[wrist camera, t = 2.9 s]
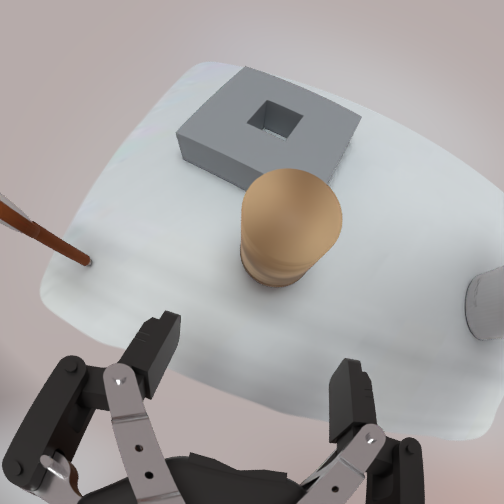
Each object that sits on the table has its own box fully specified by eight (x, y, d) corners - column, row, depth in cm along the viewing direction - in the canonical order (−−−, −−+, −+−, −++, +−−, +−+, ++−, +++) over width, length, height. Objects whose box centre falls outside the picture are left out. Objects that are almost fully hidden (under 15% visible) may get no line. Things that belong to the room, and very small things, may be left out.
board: (349, 141, 33) (361, 116, 28) (305, 223, 29) (317, 202, 25) (244, 92, 35) (245, 66, 30) (183, 159, 31) (175, 132, 26)
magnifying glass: (122, 271, 27) (-17, 177, 8) (115, 286, 27) (-33, 208, 7) (68, 241, 28) (-51, 152, 9) (62, 254, 27) (-62, 174, 8)
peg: (308, 256, 28) (357, 199, 16) (281, 306, 27) (316, 283, 14) (259, 227, 29) (272, 152, 17) (228, 276, 27) (219, 227, 15)
